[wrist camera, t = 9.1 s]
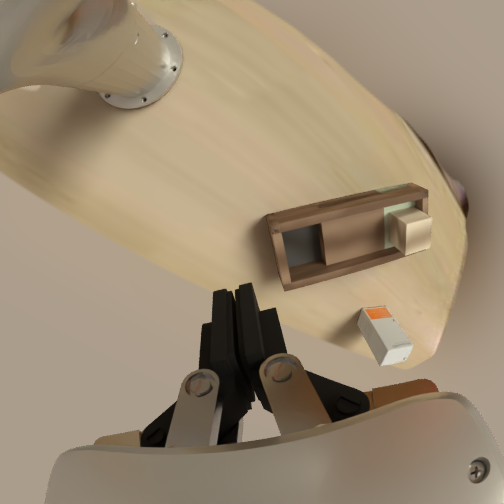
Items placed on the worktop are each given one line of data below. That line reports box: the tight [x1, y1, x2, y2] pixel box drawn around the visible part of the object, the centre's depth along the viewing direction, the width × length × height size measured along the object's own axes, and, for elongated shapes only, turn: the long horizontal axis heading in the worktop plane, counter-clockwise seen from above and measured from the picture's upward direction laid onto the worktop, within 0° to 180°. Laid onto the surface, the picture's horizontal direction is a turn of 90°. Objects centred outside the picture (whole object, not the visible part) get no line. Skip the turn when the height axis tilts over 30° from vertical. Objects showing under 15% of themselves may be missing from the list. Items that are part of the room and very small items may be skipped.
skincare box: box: [357, 306, 414, 366], centre depth 44 cm, size 6×4×12 cm
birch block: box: [389, 206, 432, 256], centre depth 36 cm, size 5×5×5 cm
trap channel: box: [266, 183, 428, 291], centre depth 38 cm, size 10×25×4 cm, turn 103°
